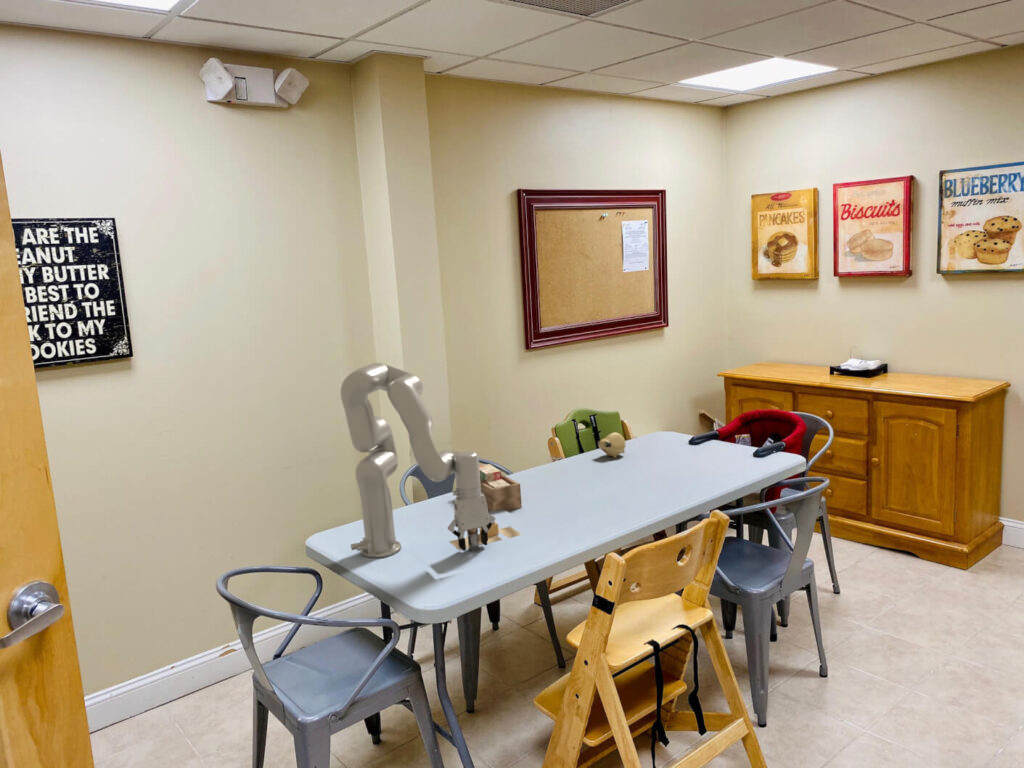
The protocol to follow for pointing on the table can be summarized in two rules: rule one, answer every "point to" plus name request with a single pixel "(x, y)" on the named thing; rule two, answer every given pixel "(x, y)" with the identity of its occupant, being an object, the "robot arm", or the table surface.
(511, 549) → the table surface
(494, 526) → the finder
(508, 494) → the block caddy
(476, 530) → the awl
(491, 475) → the stack of blocks
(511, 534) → the board
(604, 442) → the toy pig
